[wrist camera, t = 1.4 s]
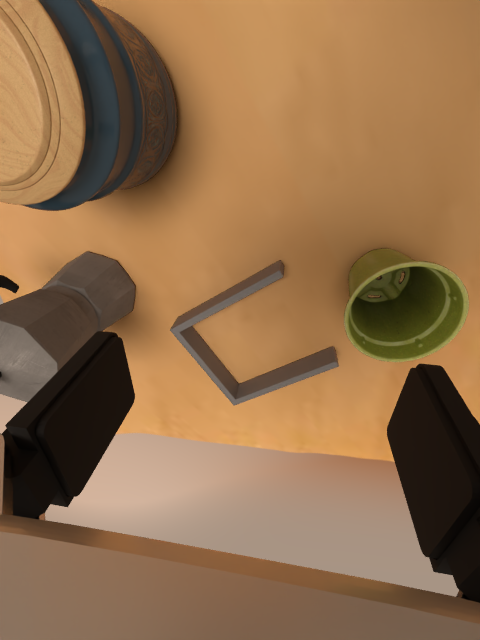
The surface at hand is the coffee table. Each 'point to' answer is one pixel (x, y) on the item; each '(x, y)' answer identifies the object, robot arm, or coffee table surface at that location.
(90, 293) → the coffeepot
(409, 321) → the plant pot
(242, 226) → the coffee table surface
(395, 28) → the coffee table surface
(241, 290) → the bay
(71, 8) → the canister
